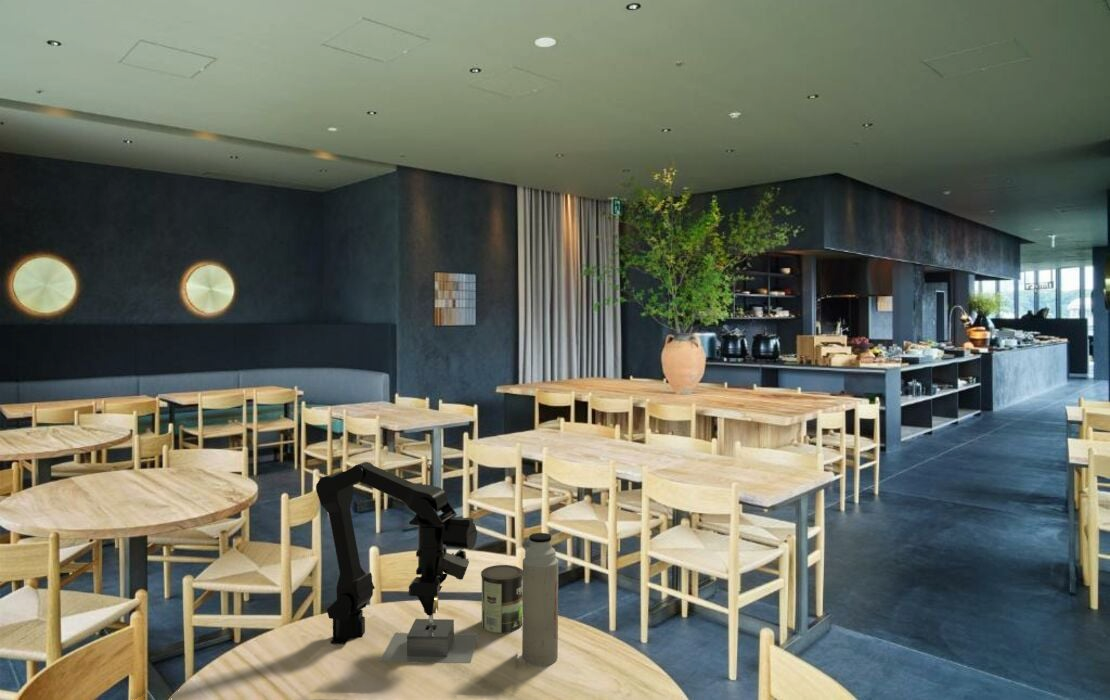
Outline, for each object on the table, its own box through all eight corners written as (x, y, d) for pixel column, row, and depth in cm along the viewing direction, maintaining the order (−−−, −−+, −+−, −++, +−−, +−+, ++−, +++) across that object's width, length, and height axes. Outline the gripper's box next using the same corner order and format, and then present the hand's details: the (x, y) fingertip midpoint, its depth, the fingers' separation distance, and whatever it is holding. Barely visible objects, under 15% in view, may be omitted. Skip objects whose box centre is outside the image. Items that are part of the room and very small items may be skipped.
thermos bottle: (560, 651, 164) (561, 531, 163) (553, 668, 157) (554, 542, 155) (526, 647, 166) (527, 528, 165) (518, 664, 158) (518, 539, 157)
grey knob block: (407, 656, 159) (406, 636, 159) (415, 638, 168) (415, 618, 168) (447, 657, 159) (447, 636, 159) (453, 638, 168) (453, 619, 168)
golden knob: (421, 637, 162) (421, 601, 161) (424, 630, 165) (424, 594, 165) (437, 637, 162) (437, 601, 161) (440, 630, 165) (440, 595, 165)
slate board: (379, 665, 157) (379, 661, 157) (395, 637, 171) (395, 632, 171) (470, 667, 157) (470, 662, 157) (478, 638, 171) (478, 634, 171)
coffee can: (524, 619, 182) (524, 564, 181) (521, 637, 171) (521, 579, 171) (483, 618, 182) (483, 564, 181) (478, 637, 171) (478, 579, 171)
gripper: (460, 559, 153) (459, 630, 154) (471, 532, 172) (471, 596, 172) (408, 558, 153) (408, 629, 154) (425, 531, 172) (425, 595, 173)
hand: (430, 611), depth 163 cm, fingers closed on golden knob, 3 cm apart
